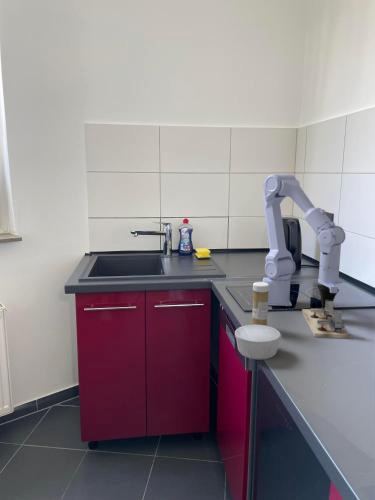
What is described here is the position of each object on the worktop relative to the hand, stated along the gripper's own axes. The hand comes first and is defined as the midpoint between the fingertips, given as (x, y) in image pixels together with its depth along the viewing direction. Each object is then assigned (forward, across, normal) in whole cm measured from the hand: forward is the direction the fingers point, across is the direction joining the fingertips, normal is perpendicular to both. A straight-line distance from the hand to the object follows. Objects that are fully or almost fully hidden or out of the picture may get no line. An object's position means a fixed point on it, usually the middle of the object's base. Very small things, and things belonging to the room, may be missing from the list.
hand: (326, 308), depth 123 cm
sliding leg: (+2, -3, +2) cm, 4 cm away
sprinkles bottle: (+3, -11, +21) cm, 24 cm away
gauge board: (+3, -6, +2) cm, 7 cm away
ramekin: (+3, -27, +23) cm, 35 cm away
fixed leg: (+2, -13, +2) cm, 13 cm away
